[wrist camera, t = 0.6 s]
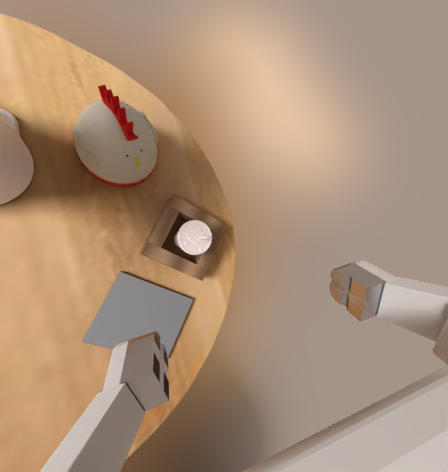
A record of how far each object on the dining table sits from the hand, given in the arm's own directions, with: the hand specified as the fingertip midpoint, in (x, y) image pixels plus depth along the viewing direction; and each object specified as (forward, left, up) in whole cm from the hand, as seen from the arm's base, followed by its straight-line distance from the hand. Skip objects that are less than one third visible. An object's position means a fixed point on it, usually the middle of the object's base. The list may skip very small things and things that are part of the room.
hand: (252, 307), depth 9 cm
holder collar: (+4, +7, -36) cm, 37 cm away
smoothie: (+4, +7, -36) cm, 37 cm away
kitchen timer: (-15, +17, -36) cm, 43 cm away
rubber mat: (+4, -11, -36) cm, 38 cm away
